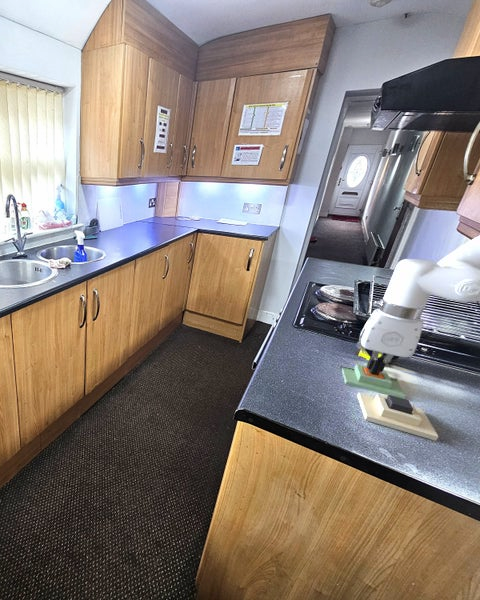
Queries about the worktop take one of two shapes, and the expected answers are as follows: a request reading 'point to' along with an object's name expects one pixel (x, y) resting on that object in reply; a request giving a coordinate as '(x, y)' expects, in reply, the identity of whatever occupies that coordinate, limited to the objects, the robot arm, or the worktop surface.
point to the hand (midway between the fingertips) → (372, 371)
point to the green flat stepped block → (372, 381)
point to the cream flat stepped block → (396, 416)
